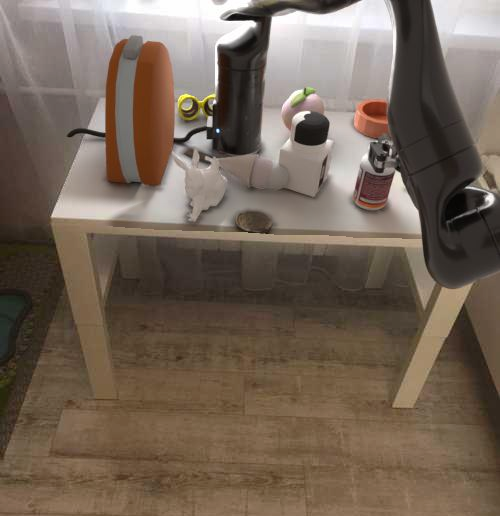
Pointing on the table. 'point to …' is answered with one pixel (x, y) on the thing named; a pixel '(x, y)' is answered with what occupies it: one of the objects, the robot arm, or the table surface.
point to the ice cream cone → (256, 171)
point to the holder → (372, 118)
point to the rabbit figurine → (202, 183)
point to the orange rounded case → (139, 112)
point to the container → (307, 153)
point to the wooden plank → (201, 155)
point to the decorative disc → (253, 222)
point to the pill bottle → (372, 185)
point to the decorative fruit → (301, 105)
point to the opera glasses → (194, 107)
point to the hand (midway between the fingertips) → (411, 140)
